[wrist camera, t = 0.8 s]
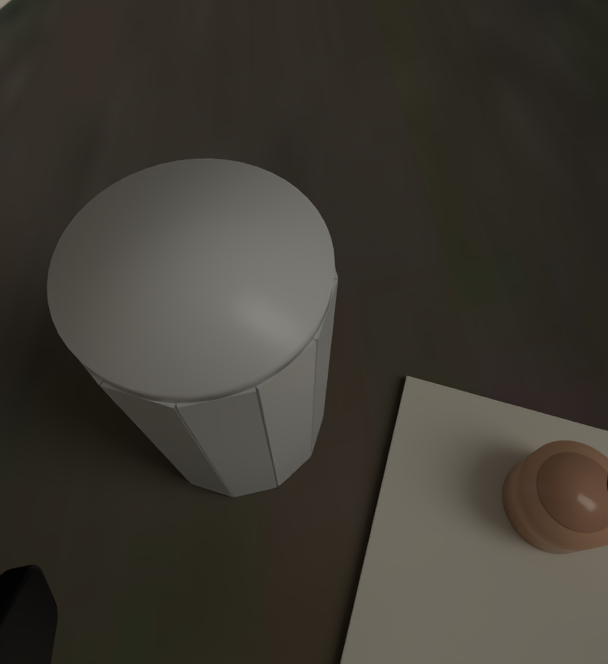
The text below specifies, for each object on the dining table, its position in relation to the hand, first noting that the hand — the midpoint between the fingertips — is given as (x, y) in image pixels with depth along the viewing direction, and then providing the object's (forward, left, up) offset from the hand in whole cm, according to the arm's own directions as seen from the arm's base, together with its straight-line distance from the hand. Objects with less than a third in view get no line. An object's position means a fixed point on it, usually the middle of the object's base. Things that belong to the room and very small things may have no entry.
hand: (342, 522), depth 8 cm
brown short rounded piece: (+5, -9, -14) cm, 18 cm away
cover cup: (+5, +5, -15) cm, 16 cm away
